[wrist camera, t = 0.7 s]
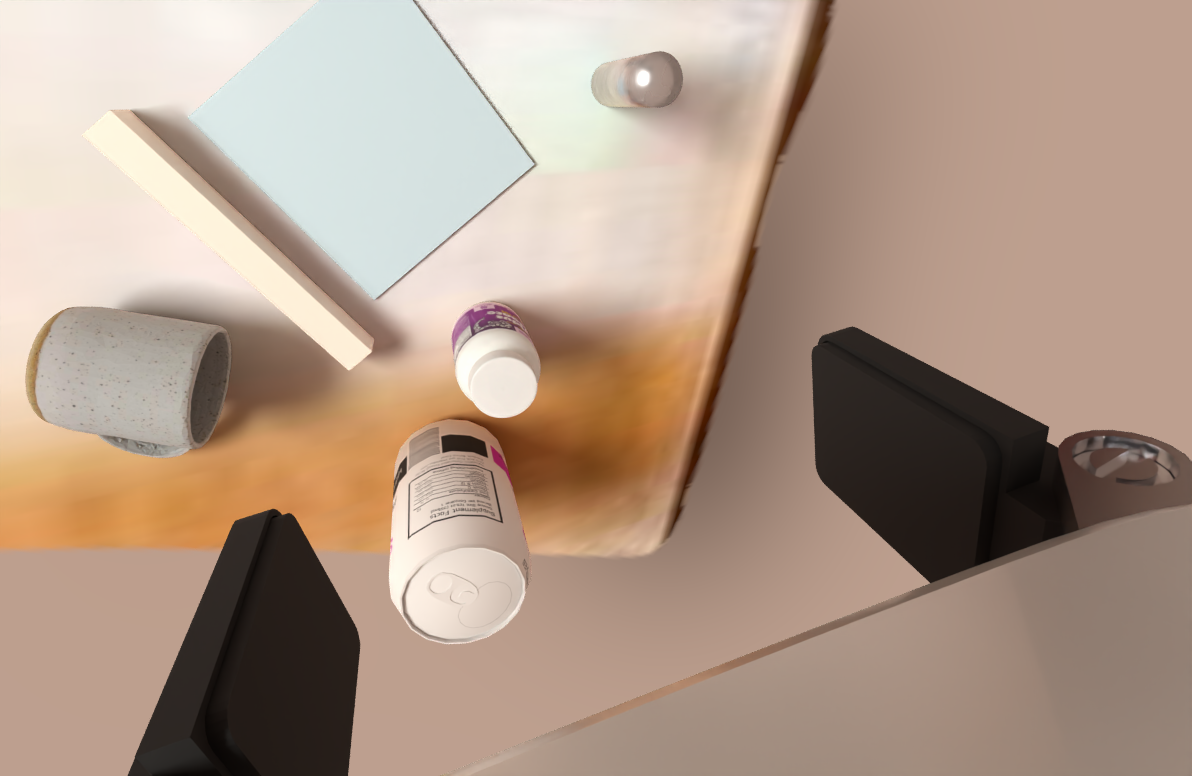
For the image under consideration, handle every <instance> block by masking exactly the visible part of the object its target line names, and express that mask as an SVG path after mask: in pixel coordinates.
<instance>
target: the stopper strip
mask: <svg viewBox="0 0 1192 776" xmlns="http://www.w3.org/2000/svg"><path fill="white" fill-rule="evenodd" d="M82 136H83V137H84V138H85V139H86V140H88V141H89V142H90V143H91V144H92V145H93V146H94V147H96V148H97V149H98V150H99V151H100V152H101V153H102V154H104V155H105V156H106V157H107V158H108V159H109V160H110V161H111V162H113V163H114V164H115V165H116V166H117V167H118V168H119V169H121V170H122V171H123V172H124V173H125V174H126V175H127V176H128V177H130V178H131V179H132V180H133V181H134V182H135V183H136V184H138V185H139V186H140V187H141V188H142V189H143V190H144V191H145V192H147V193H148V194H149V195H150V196H151V197H152V198H153V199H155V200H156V201H157V202H158V203H159V204H160V205H161V206H163V207H164V208H165V209H166V210H167V211H168V212H169V213H170V214H172V215H173V216H174V217H175V218H176V219H177V220H178V221H180V222H181V223H182V224H183V225H184V226H185V227H186V228H187V229H189V230H190V231H191V232H192V233H193V234H194V235H195V236H197V237H198V238H199V239H200V240H201V241H202V242H203V243H204V244H206V245H207V246H208V247H209V248H210V249H211V250H212V251H214V252H215V253H216V254H217V255H218V256H219V257H220V258H222V259H223V260H224V261H225V262H226V263H227V264H228V265H229V266H231V267H232V268H233V269H234V270H235V271H236V272H237V273H239V274H240V275H241V276H242V277H243V278H244V279H245V280H246V281H248V282H249V283H250V284H251V285H252V286H253V287H254V288H256V289H257V290H258V291H259V292H260V293H261V294H262V295H263V296H265V297H266V298H267V299H268V300H269V301H270V302H271V303H273V304H274V305H275V306H276V307H277V308H278V309H279V310H281V311H282V312H283V313H284V314H285V315H286V316H287V317H288V318H290V319H291V320H292V321H293V322H294V323H295V324H296V325H298V326H299V327H300V328H301V329H302V330H303V331H304V332H305V333H307V334H308V335H309V336H310V337H311V338H312V339H313V340H315V341H316V342H317V343H318V344H319V345H320V346H321V347H323V348H324V349H325V350H326V351H327V352H328V353H329V354H330V355H332V356H333V357H334V358H335V359H336V360H337V361H338V362H340V363H341V364H342V365H343V366H344V367H345V368H346V369H347V370H349V371H350V370H351V369H352V368H353V367H354V366H356V365H357V364H358V363H359V362H360V361H362V360H363V359H364V358H365V357H366V356H367V355H369V354H370V353H371V352H372V349H373V343H374V338H373V337H372V336H371V335H369V334H368V333H367V332H366V331H365V330H364V329H363V328H362V327H361V326H360V325H359V324H358V323H357V322H356V321H355V320H353V319H352V318H351V317H350V316H349V315H348V314H347V313H346V312H345V311H344V310H343V309H342V308H341V307H340V306H339V305H337V304H336V303H335V302H334V301H333V300H332V299H331V298H330V297H329V296H328V295H327V294H326V293H325V292H324V291H323V290H321V289H320V288H319V287H318V286H317V285H316V284H315V283H314V282H313V281H312V280H311V279H310V278H309V277H308V276H307V275H305V274H304V273H303V272H302V271H301V270H300V269H299V268H298V267H297V266H296V265H295V264H294V263H293V262H292V261H291V260H289V259H288V258H287V257H286V256H285V255H284V254H283V253H282V252H281V251H280V250H279V249H278V248H277V247H276V246H275V245H273V244H272V243H271V242H270V241H269V240H268V239H267V238H266V237H265V236H264V235H263V234H262V233H261V232H260V231H259V230H257V229H256V228H255V227H254V226H253V225H252V224H251V223H250V222H249V221H248V220H247V219H246V218H245V217H244V216H243V215H241V214H240V213H239V212H238V211H237V210H236V209H235V208H234V207H233V206H232V205H231V204H230V203H229V202H228V201H227V200H225V199H224V198H223V197H222V196H221V195H220V194H219V193H218V192H217V191H216V190H215V189H214V188H213V187H212V186H211V185H210V184H208V183H207V182H206V181H205V180H204V179H203V178H202V177H201V176H200V175H199V174H198V173H197V172H196V171H195V170H194V169H192V168H191V167H190V166H189V165H188V164H187V163H186V162H185V161H184V160H183V159H182V158H181V157H180V156H179V155H178V154H176V153H175V152H174V151H173V150H172V149H171V148H170V147H169V146H168V145H167V144H166V143H165V142H164V141H163V140H162V139H160V138H159V137H158V136H157V135H156V134H155V133H154V132H153V131H152V130H151V129H150V128H149V127H148V126H147V125H146V124H144V123H143V122H142V121H141V120H140V119H139V118H138V117H137V116H136V115H135V114H134V113H133V112H132V111H131V110H109V111H108V112H107V113H106V114H105V115H104V116H103V117H102V118H101V119H99V120H98V121H97V122H96V123H95V124H94V125H93V126H92V127H91V128H89V129H88V130H87V131H86V132H85V133H84V134H83V135H82Z"/></svg>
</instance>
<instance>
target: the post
mask: <svg viewBox="0 0 1192 776" xmlns="http://www.w3.org/2000/svg"><path fill="white" fill-rule="evenodd" d="M682 81H683V76H682V70H681V67H680V65H679V63H678V61H677V60H676V59H675V58H674V57H673V56H672V55H670V54H669V53H666V52H661V51H660V52H653V53H648V54H644V55H639V56H635V57H630V58H625V59H621V60H616V61H611V62H607V63H604V64H602V65H600V66H599V67H598V68H597V69H596V70H595V72H594V74H593V76H592V80H591V89H592V93H593V95H594V97H595V99H596V100H597V101H598V102H599V103H600V104H602V105H604V106H607V107H657V108H658V107H664V106H667V105H669V104H670V103H672V102H673V101H674V100H675V99H676V97H677V96H678V94H679V92H680V90H681V87H682Z"/></svg>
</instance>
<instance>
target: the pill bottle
mask: <svg viewBox="0 0 1192 776" xmlns="http://www.w3.org/2000/svg"><path fill="white" fill-rule="evenodd" d="M451 339H452V348H453V355H454V363H455V373H456V378H457V381H458V384H459V386H460V388H461V390H462V391H463V393H464V394H465V395H466V396H467V397H468V398H469V399H470V400H471V401H473V402H474V404H475V405H476V406H477V407H478V409H480V410H481V411H482V412H483V413H485V414H487V415H489V416H492V417H496V418H508V417H513V416H516V415H518V414H520V413H522V412H523V411H524V410H526V409H527V408H528V407H529V406H530V405H531V403H532V402H533V400H534V398H535V396H536V393H537V383H538V381H539V377H540V371H541V366H540V359H539V356H538V353H537V351H536V348H535V347H534V344H533V342H532V340H531V338H530V336H529V334H528V332H527V330H526V328H525V326H524V324H523V322H522V320H521V319H520V317H519V316H518V315H517V314H516V313H515V312H514V311H513V310H512V309H511V308H509V307H507V306H506V305H503V304H501V303H497V302H482V303H478V304H475V305H472V306H470V307H469V308H467V309H466V310H464V311H463V312H462V313H461V314H460V315H459V317H458V318H457V319H456V321H455V324H454V326H453V329H452V337H451Z"/></svg>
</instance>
